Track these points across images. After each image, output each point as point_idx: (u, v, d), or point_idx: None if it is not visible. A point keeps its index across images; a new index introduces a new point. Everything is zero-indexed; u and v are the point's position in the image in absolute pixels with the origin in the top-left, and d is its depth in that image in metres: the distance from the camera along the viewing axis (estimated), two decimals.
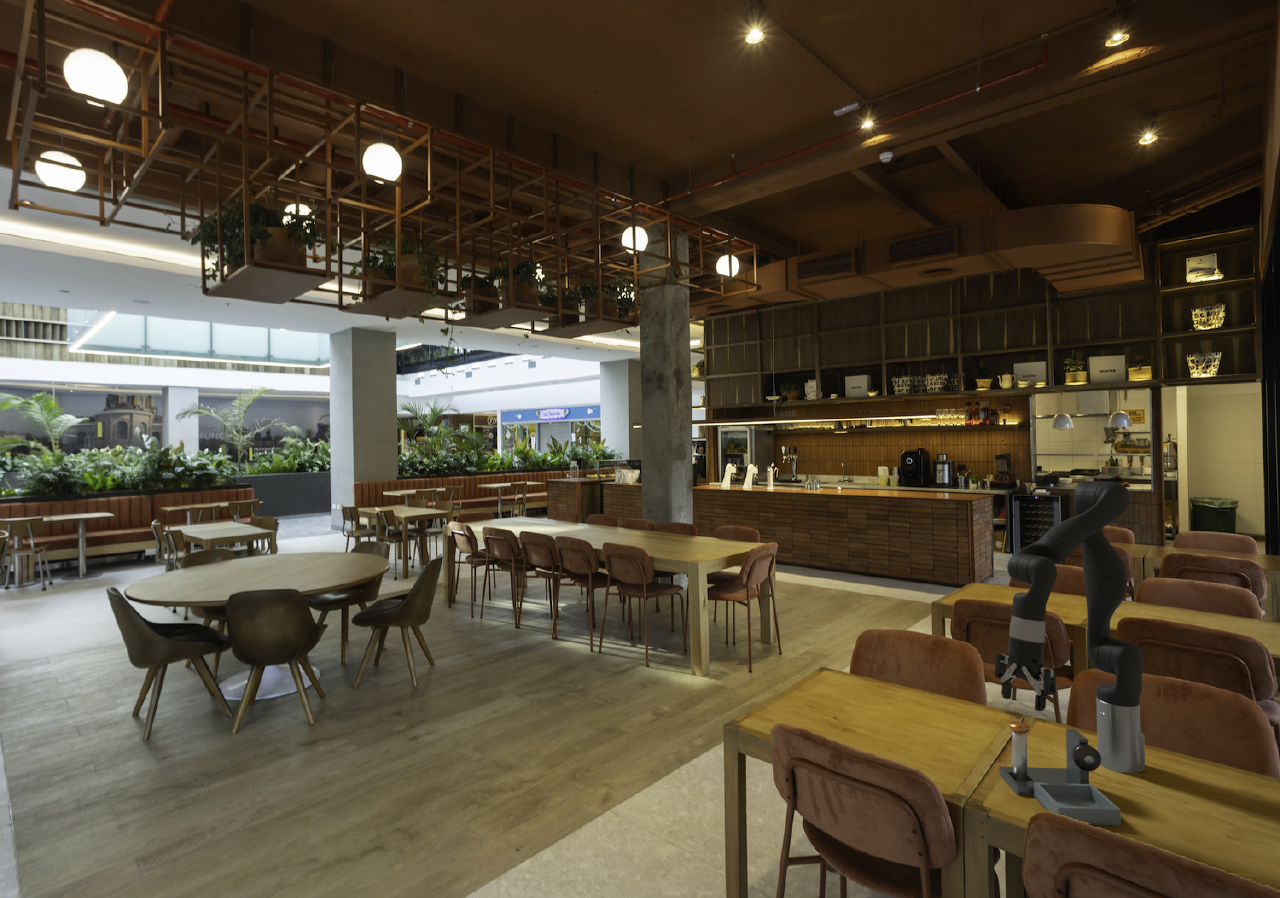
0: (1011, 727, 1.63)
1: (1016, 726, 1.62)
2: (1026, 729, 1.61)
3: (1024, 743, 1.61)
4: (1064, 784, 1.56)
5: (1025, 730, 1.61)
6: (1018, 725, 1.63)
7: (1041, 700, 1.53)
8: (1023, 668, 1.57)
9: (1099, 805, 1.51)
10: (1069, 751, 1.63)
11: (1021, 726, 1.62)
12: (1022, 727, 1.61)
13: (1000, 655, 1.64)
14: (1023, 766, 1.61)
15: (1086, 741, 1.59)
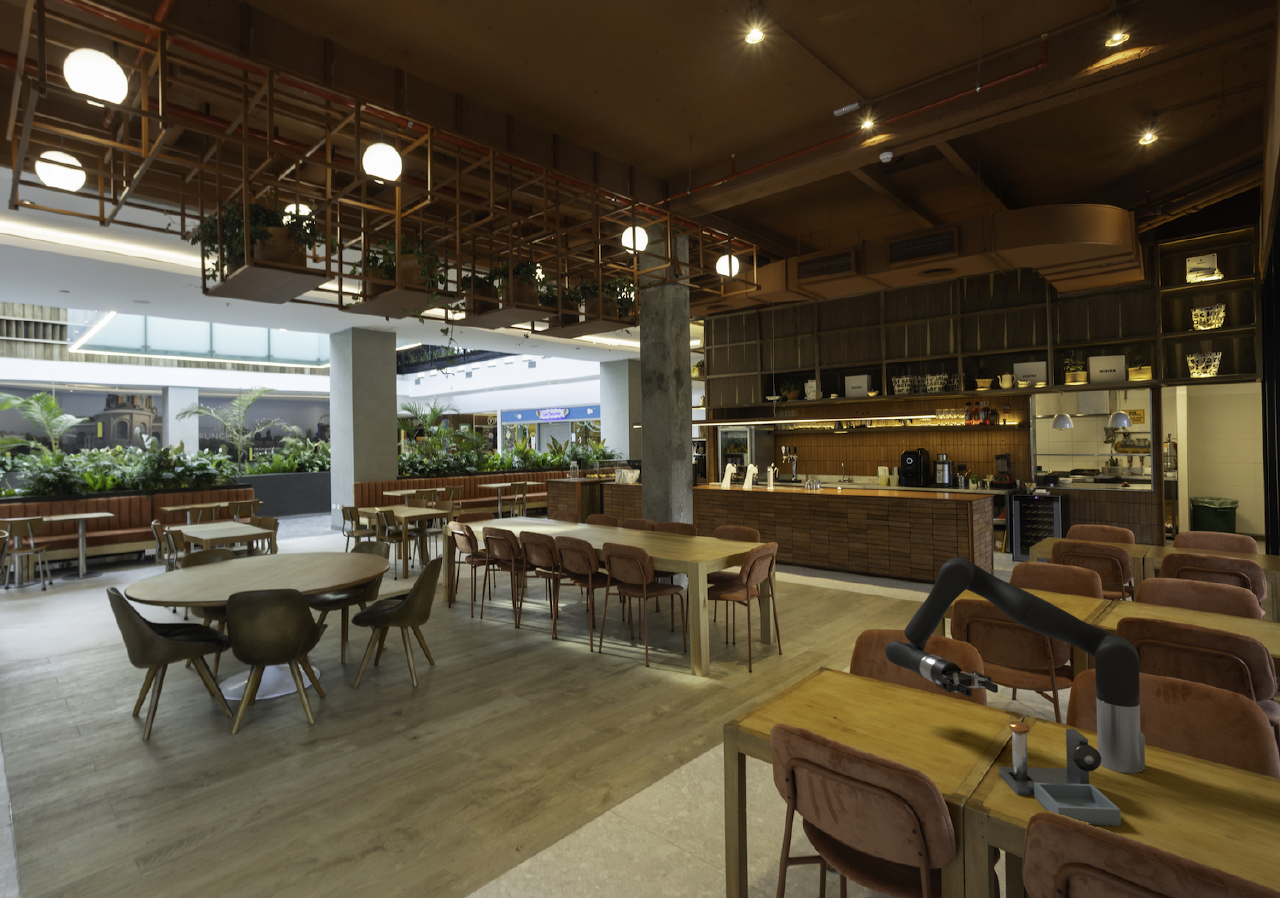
0: (1011, 727, 1.63)
1: (1016, 726, 1.62)
2: (1026, 729, 1.61)
3: (1024, 743, 1.61)
4: (1064, 784, 1.56)
5: (1025, 730, 1.61)
6: (1018, 725, 1.63)
7: (960, 692, 1.75)
8: None
9: (1099, 805, 1.51)
10: (1069, 751, 1.63)
11: (1021, 726, 1.62)
12: (1022, 727, 1.61)
13: None
14: (1023, 766, 1.61)
15: (1086, 741, 1.59)
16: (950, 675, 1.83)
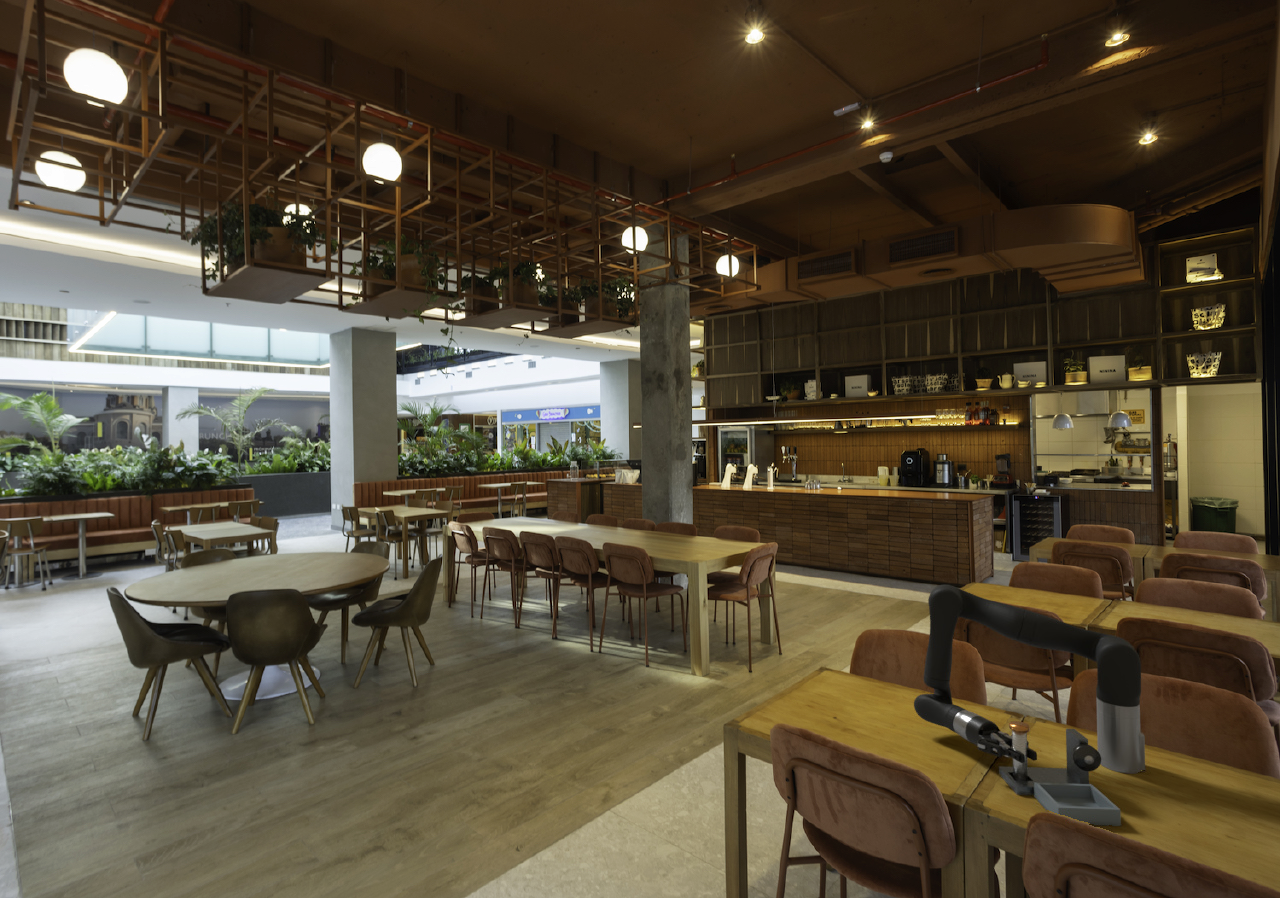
0: (1011, 727, 1.63)
1: (1016, 726, 1.62)
2: (1026, 729, 1.61)
3: (1024, 743, 1.61)
4: (1064, 784, 1.56)
5: (1025, 730, 1.61)
6: (1018, 725, 1.63)
7: (1011, 757, 1.62)
8: None
9: (1099, 805, 1.51)
10: (1069, 751, 1.63)
11: (1021, 726, 1.62)
12: (1022, 727, 1.61)
13: None
14: (1023, 766, 1.61)
15: (1086, 741, 1.59)
16: (988, 736, 1.70)
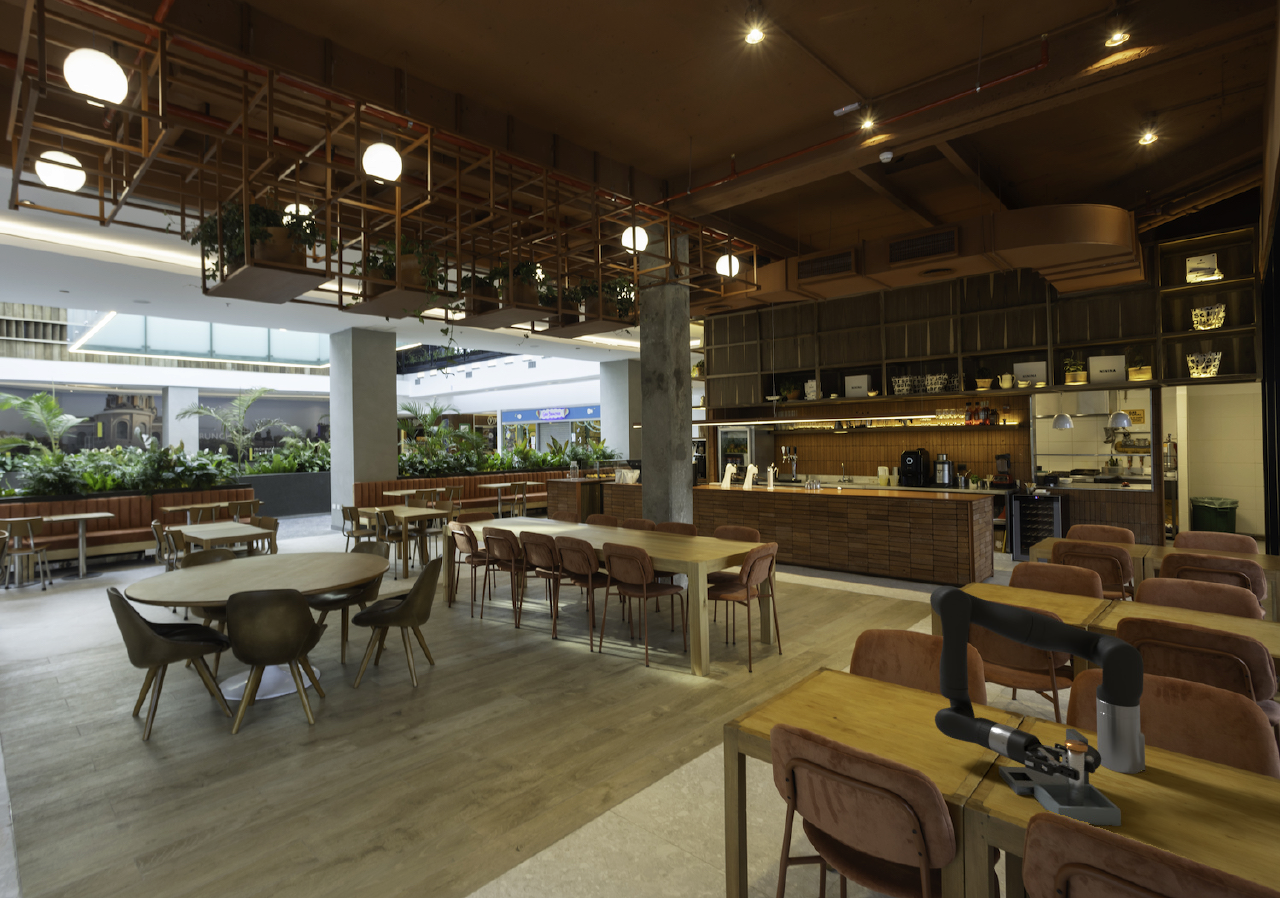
0: (1069, 747, 1.50)
1: (1075, 746, 1.50)
2: (1086, 749, 1.49)
3: (1082, 764, 1.49)
4: (1064, 784, 1.56)
5: (1085, 750, 1.49)
6: (1076, 744, 1.50)
7: (1064, 775, 1.49)
8: None
9: (1099, 805, 1.51)
10: None
11: (1079, 745, 1.50)
12: (1081, 747, 1.49)
13: None
14: (1081, 789, 1.49)
15: (1086, 741, 1.59)
16: (1034, 751, 1.57)
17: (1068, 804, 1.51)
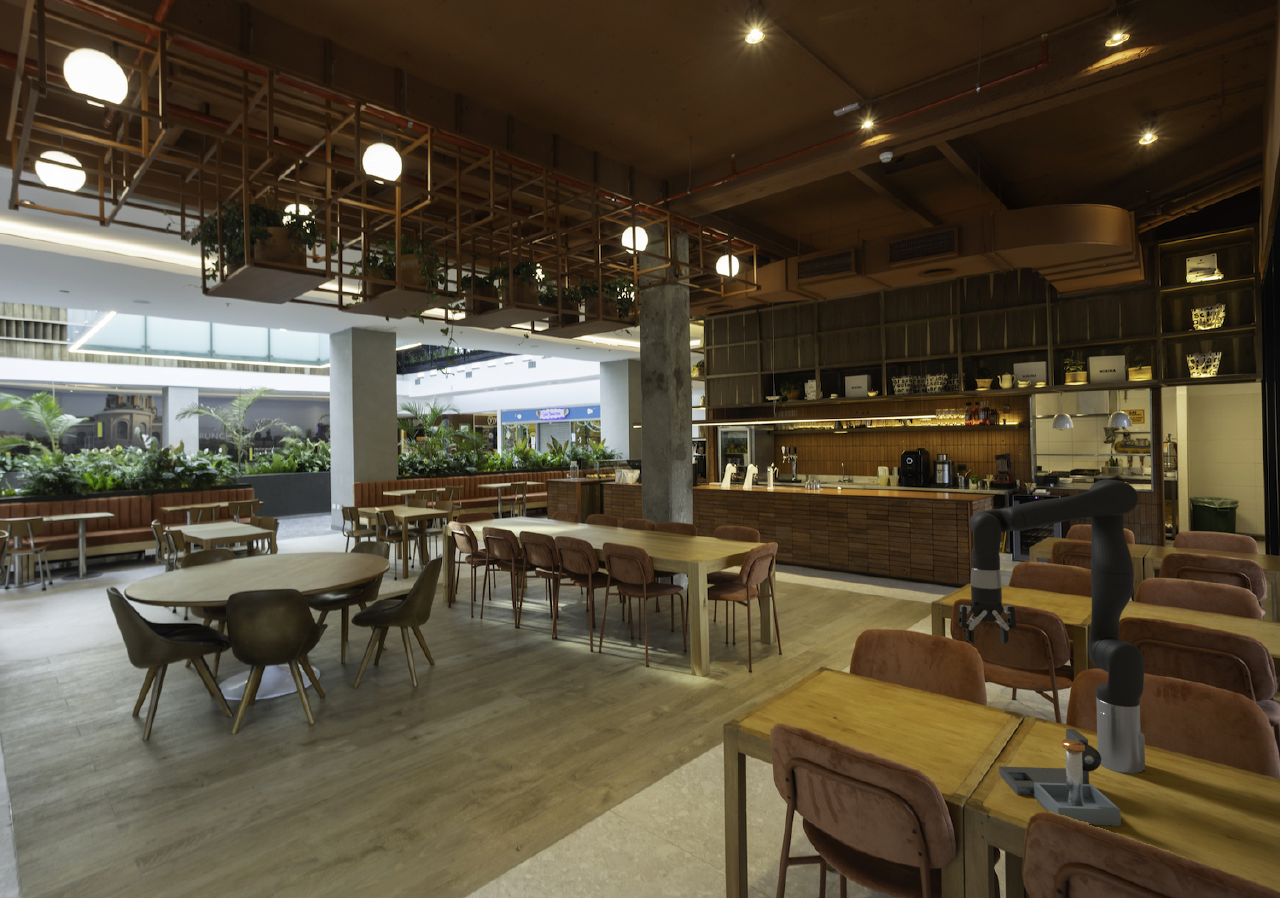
0: (1067, 747, 1.50)
1: (1072, 745, 1.50)
2: (1083, 748, 1.49)
3: (1080, 763, 1.50)
4: (1064, 784, 1.56)
5: (1082, 749, 1.49)
6: (1073, 744, 1.51)
7: None
8: None
9: (1099, 805, 1.51)
10: None
11: (1077, 745, 1.50)
12: (1079, 746, 1.49)
13: (1007, 605, 1.81)
14: (1080, 789, 1.49)
15: (1086, 741, 1.59)
16: (980, 608, 1.80)
17: (1068, 804, 1.51)
